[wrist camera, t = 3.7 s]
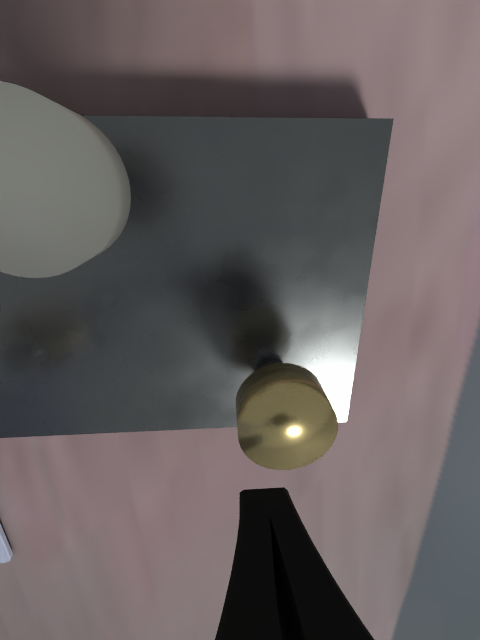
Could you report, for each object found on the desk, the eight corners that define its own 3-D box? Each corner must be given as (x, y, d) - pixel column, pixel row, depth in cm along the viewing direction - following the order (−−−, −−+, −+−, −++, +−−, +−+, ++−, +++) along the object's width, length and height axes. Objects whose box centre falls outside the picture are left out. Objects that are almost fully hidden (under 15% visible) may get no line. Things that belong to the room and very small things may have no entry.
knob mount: (-49, 416, 19) (-77, 441, 17) (-173, 121, 13) (-235, 111, 12) (335, 400, 21) (346, 421, 19) (371, 126, 15) (393, 118, 13)
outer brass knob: (233, 407, 18) (238, 472, 14) (232, 340, 16) (238, 392, 12) (306, 404, 18) (332, 467, 14) (312, 338, 16) (343, 387, 12)
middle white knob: (40, 247, 12) (-50, 279, 8) (10, 119, 10) (-121, 78, 6) (152, 246, 12) (121, 276, 8) (139, 120, 11) (92, 81, 7)
